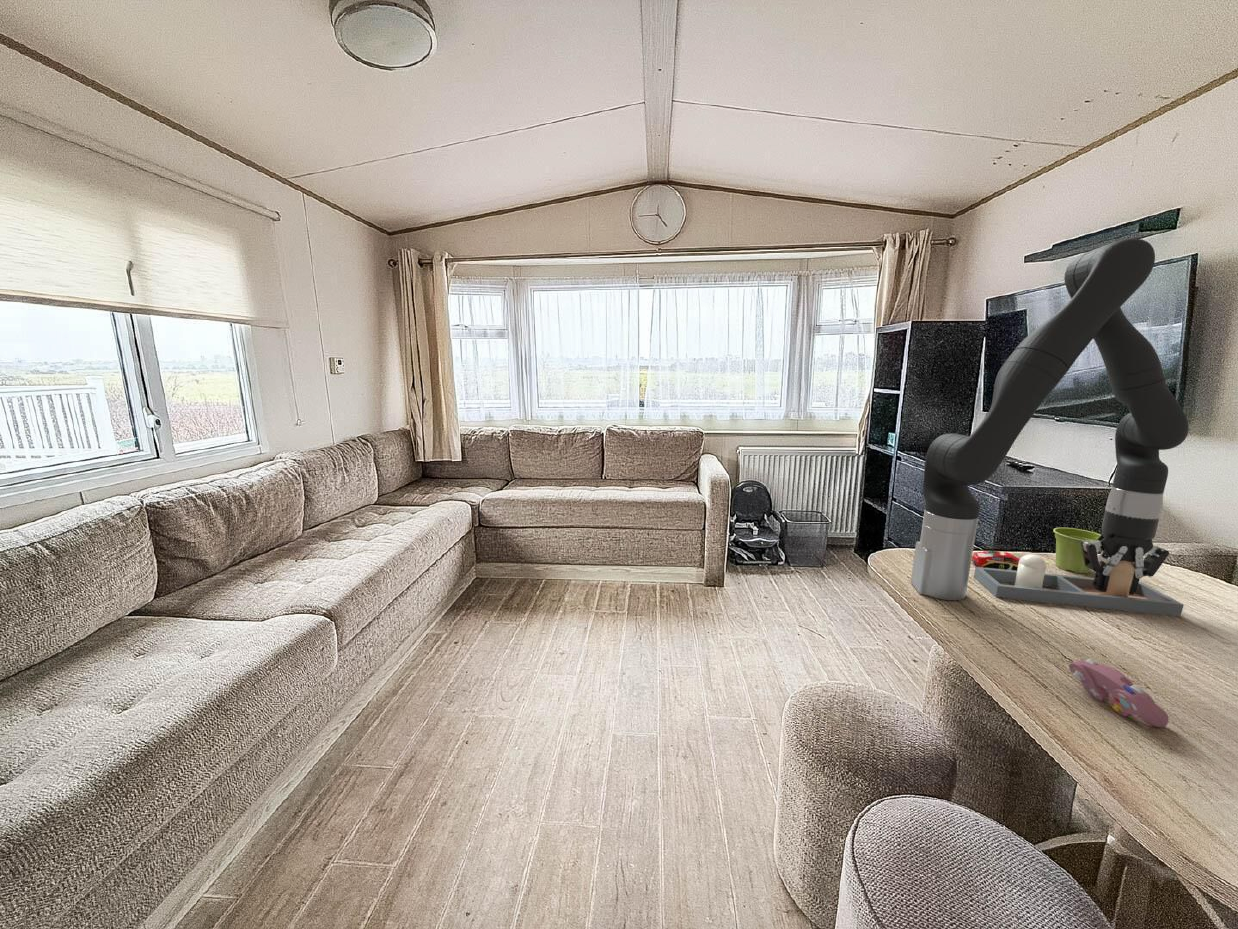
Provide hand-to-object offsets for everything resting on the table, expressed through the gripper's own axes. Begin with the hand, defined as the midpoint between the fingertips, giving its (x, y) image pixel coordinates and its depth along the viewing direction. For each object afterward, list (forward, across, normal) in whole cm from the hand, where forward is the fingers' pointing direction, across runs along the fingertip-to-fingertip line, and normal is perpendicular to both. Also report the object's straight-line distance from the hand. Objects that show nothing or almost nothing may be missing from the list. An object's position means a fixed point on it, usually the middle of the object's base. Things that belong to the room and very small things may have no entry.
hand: (1113, 591), depth 100 cm
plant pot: (+2, +2, +17) cm, 17 cm away
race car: (+2, -13, +13) cm, 19 cm away
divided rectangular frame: (+2, -8, 0) cm, 8 cm away
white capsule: (+2, -15, 0) cm, 15 cm away
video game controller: (+2, -24, -39) cm, 46 cm away
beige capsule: (+1, 0, 0) cm, 1 cm away
